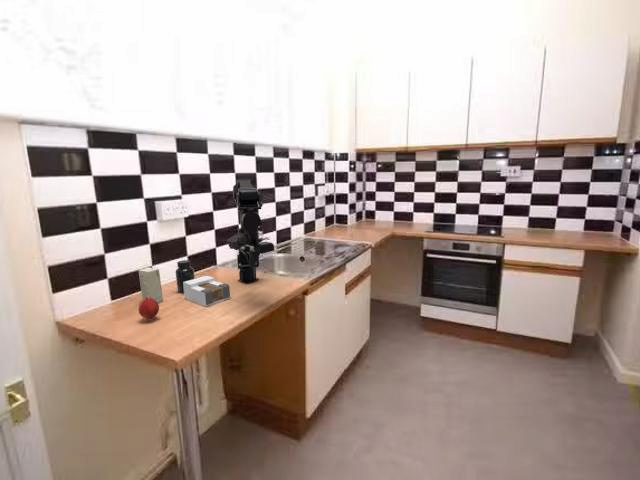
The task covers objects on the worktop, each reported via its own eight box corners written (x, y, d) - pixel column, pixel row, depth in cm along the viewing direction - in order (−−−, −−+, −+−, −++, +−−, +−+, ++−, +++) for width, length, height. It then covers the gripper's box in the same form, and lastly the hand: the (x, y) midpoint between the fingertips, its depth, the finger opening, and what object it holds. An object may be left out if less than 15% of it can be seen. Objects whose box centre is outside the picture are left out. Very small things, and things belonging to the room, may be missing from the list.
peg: (206, 293, 129) (206, 283, 128) (222, 298, 123) (222, 288, 122) (197, 296, 126) (196, 285, 125) (213, 302, 120) (212, 291, 119)
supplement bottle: (190, 286, 139) (187, 258, 137) (199, 290, 135) (196, 260, 132) (174, 291, 134) (171, 261, 131) (183, 294, 129) (180, 264, 127)
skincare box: (163, 301, 123) (160, 269, 121) (152, 305, 119) (148, 272, 117) (152, 298, 126) (149, 266, 124) (141, 302, 123) (137, 269, 120)
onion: (137, 319, 108) (134, 295, 106) (156, 314, 111) (153, 291, 110) (143, 325, 103) (140, 300, 102) (162, 319, 107) (160, 295, 106)
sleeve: (208, 290, 134) (206, 275, 132) (230, 298, 125) (229, 282, 124) (184, 298, 126) (183, 282, 125) (206, 306, 117) (205, 289, 116)
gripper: (214, 225, 117) (217, 268, 120) (248, 231, 105) (250, 279, 109) (240, 221, 126) (242, 261, 129) (274, 226, 114) (276, 270, 117)
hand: (251, 268), depth 121 cm, fingers closed
